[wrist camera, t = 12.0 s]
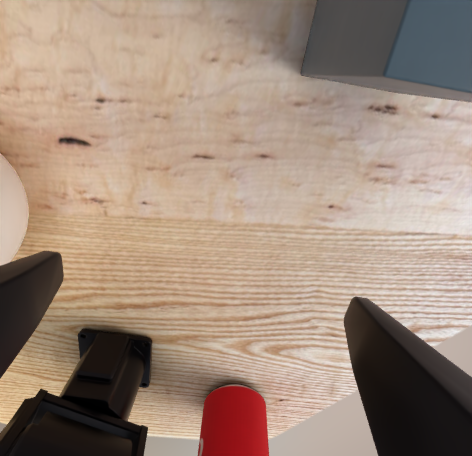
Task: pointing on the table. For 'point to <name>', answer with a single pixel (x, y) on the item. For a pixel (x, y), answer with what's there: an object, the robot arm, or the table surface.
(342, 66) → the tissue box
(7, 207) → the ornament
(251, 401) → the beverage can
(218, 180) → the table surface
